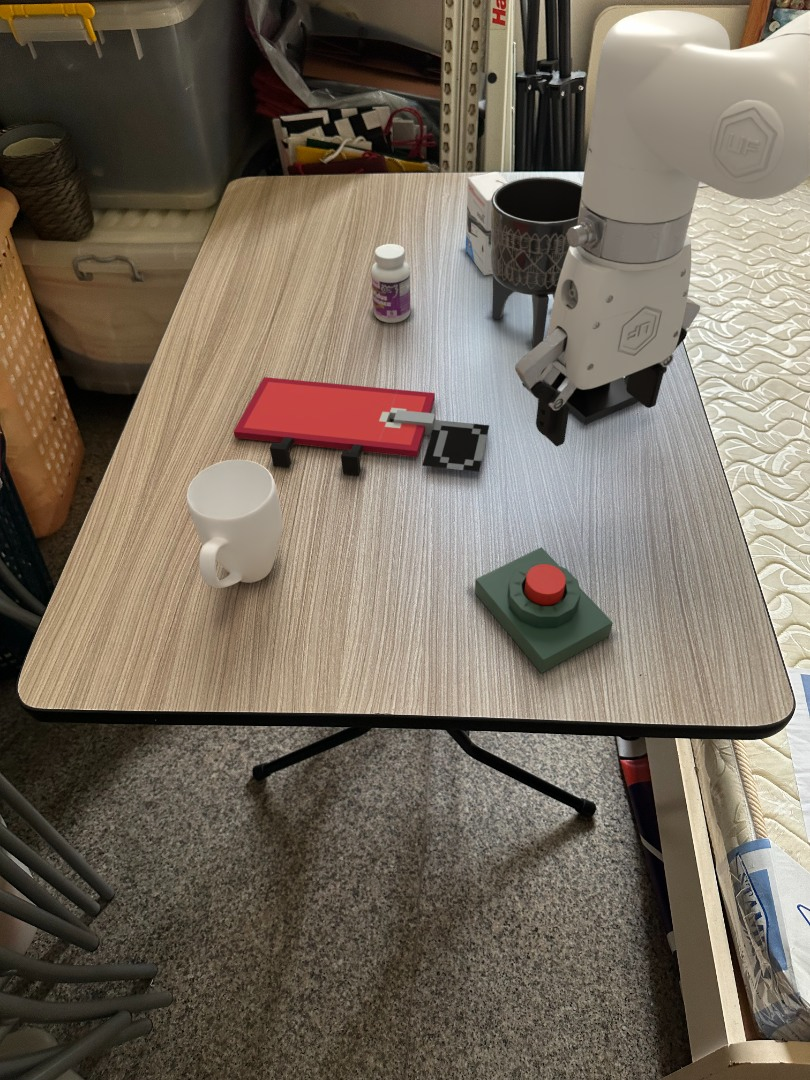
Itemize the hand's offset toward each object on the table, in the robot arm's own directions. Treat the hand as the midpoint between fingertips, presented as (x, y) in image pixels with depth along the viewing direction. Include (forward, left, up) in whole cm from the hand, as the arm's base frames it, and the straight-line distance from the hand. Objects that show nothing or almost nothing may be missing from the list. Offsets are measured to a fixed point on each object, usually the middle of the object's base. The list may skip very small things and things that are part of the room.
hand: (595, 417), depth 67 cm
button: (-4, +7, -15) cm, 17 cm away
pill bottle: (+50, -7, -18) cm, 53 cm away
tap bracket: (+22, -19, -18) cm, 34 cm away
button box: (-4, +7, -18) cm, 20 cm away
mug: (+15, +30, -18) cm, 38 cm away
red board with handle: (+29, +9, -18) cm, 35 cm away
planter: (+37, -22, -18) cm, 46 cm away
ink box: (+55, -27, -18) cm, 63 cm away
